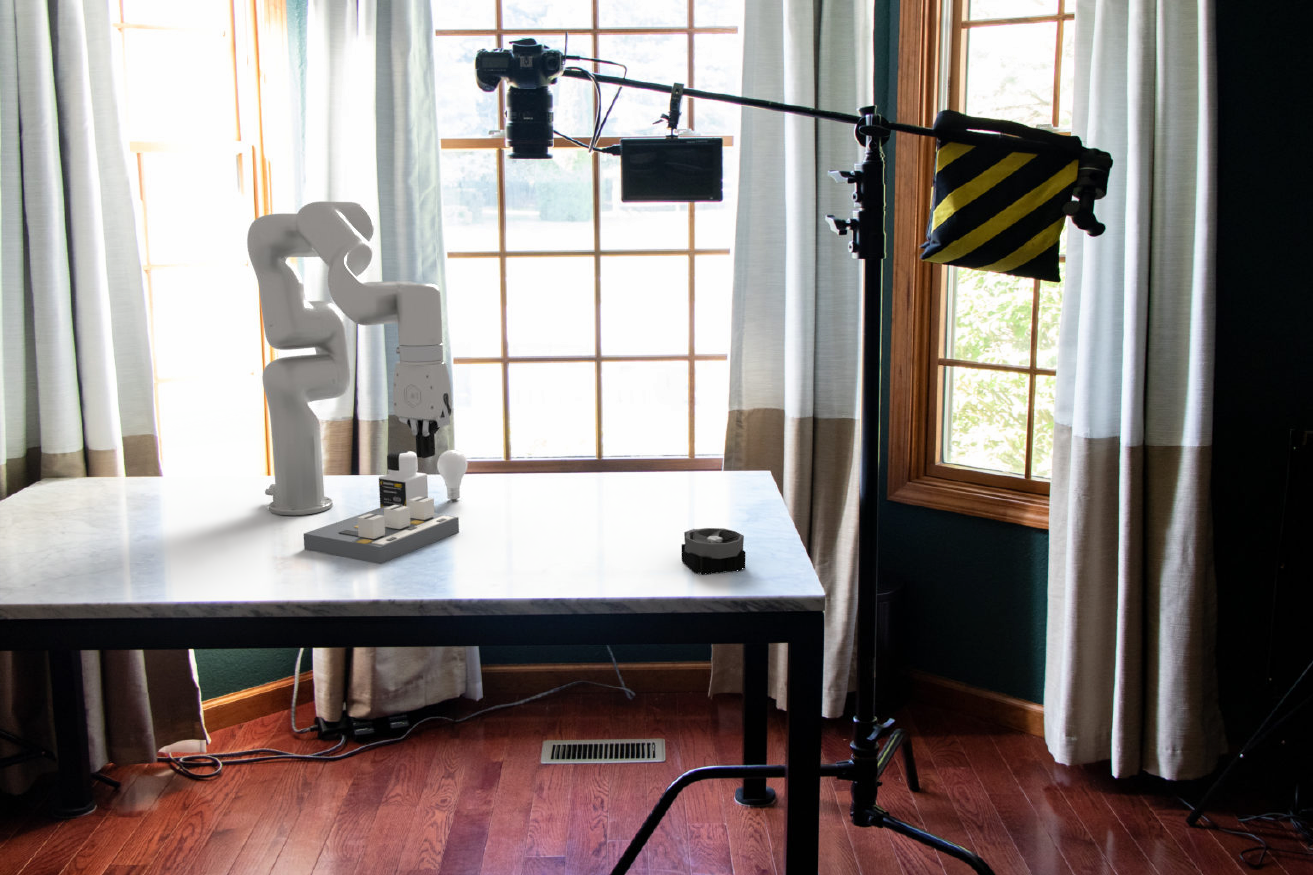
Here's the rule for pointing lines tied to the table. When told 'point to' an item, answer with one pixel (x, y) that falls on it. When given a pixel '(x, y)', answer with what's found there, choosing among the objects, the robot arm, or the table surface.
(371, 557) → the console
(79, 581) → the table surface
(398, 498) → the medicine bottle
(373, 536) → the switch
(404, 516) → the switch
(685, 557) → the cpu cooler
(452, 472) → the lightbulb
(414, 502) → the switch
